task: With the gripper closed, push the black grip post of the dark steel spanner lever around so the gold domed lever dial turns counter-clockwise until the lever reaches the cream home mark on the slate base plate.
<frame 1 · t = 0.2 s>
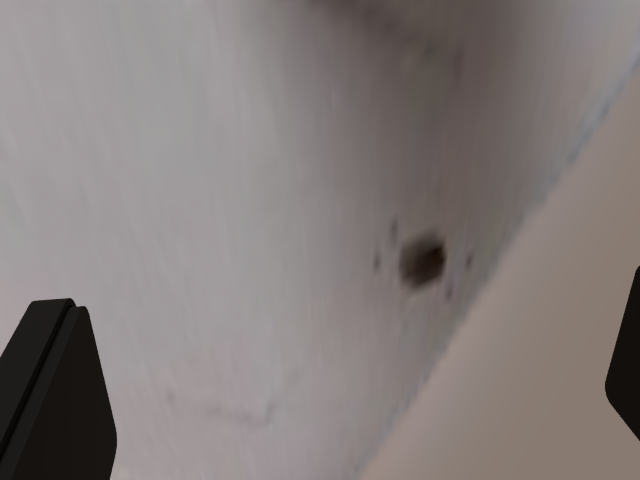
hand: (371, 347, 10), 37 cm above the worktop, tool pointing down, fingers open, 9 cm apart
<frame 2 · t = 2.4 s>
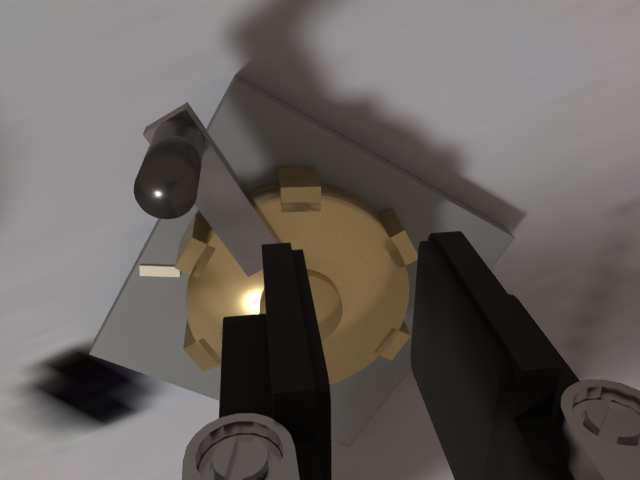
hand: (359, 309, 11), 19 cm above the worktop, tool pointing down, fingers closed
gold domed lever dial: (274, 284, 26), point 6 cm above the worktop, hinge at 0.0°
base plate: (299, 284, 33), on the worktop
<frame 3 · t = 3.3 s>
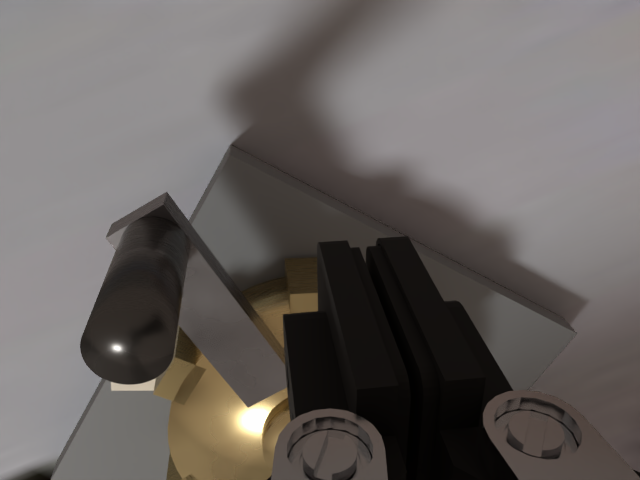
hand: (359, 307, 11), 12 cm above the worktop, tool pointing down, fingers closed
gold domed lever dial: (283, 420, 20), point 6 cm above the worktop, hinge at 0.0°
base plate: (310, 389, 27), on the worktop
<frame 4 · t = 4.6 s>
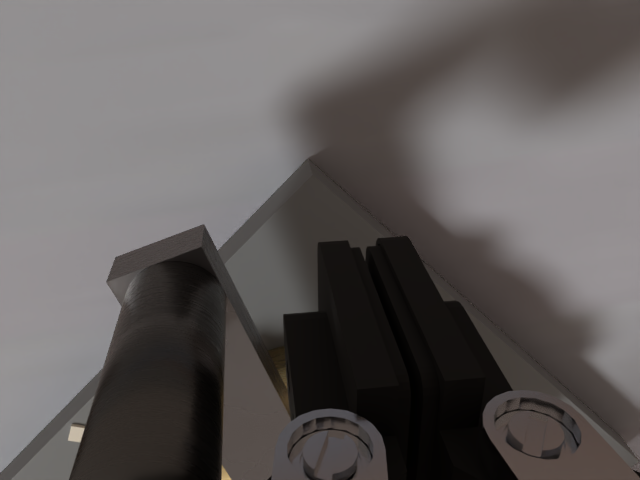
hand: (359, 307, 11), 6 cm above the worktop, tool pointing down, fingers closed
base plate: (313, 469, 22), on the worktop
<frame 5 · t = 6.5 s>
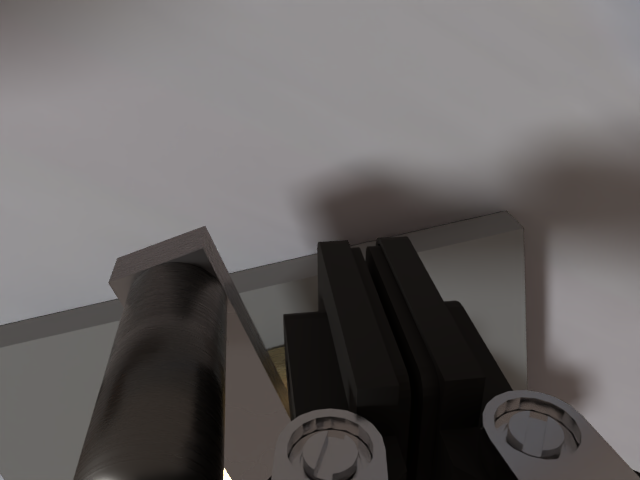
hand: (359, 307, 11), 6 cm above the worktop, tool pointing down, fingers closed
base plate: (289, 467, 22), on the worktop
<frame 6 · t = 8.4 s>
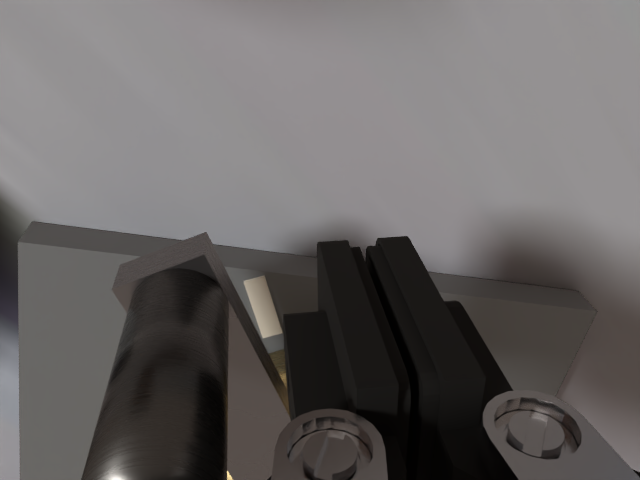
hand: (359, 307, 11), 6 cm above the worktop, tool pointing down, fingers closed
base plate: (281, 461, 22), on the worktop
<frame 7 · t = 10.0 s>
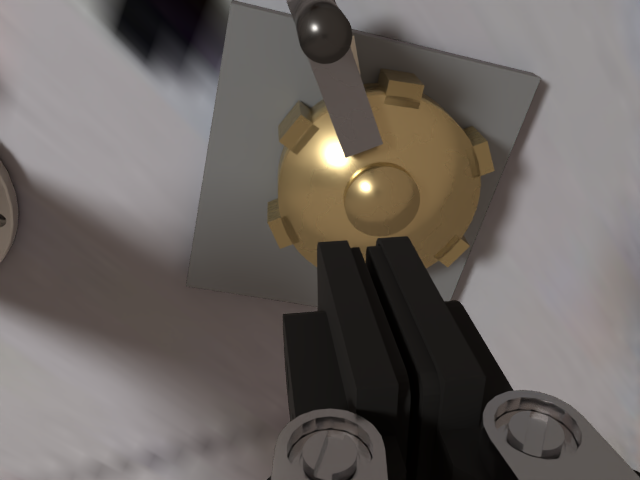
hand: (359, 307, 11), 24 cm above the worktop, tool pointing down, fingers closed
gold domed lever dial: (369, 166, 29), point 6 cm above the worktop, hinge at 63.9°
base plate: (349, 181, 36), on the worktop
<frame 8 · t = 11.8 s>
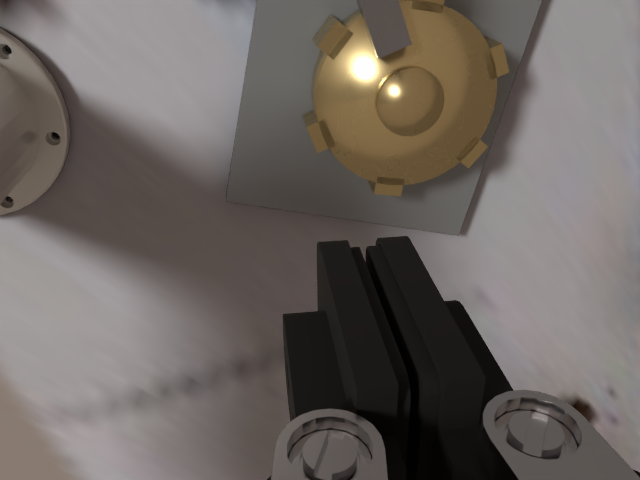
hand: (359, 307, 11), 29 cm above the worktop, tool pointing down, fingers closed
gold domed lever dial: (401, 64, 33), point 6 cm above the worktop, hinge at 63.9°
base plate: (374, 96, 39), on the worktop
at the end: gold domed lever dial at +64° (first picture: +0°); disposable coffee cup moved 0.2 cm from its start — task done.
